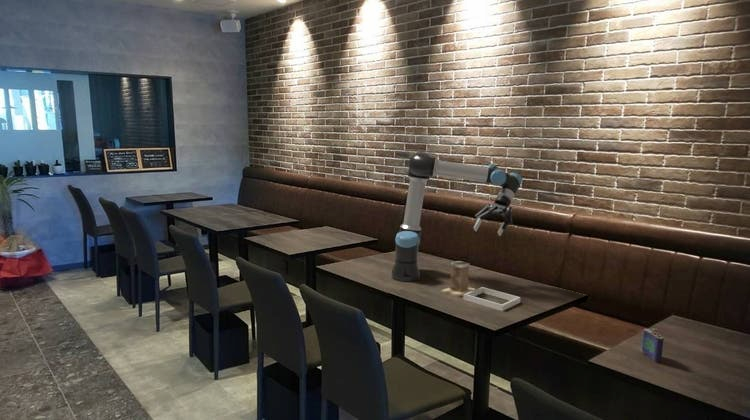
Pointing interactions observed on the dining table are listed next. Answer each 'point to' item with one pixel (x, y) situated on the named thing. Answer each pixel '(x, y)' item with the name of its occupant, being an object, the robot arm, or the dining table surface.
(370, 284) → the dining table surface
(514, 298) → the white rectangular frame
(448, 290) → the board
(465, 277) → the canister
